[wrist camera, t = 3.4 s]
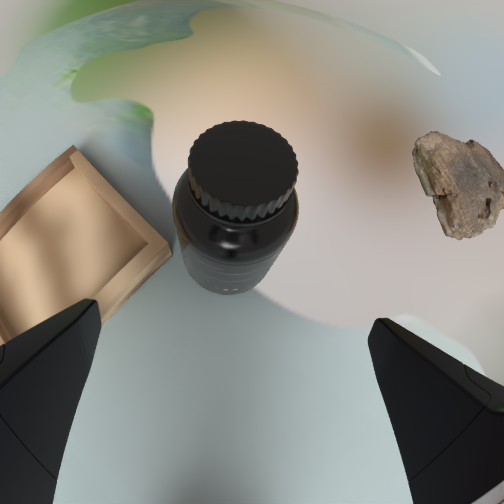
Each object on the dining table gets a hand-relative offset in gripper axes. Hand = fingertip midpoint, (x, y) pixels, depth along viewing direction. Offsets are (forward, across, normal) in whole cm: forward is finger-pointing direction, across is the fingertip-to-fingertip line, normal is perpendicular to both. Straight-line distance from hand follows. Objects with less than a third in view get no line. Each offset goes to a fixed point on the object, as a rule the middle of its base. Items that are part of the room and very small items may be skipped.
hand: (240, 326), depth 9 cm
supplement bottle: (+14, 0, +4) cm, 15 cm away
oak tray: (+12, +15, +6) cm, 20 cm away
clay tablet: (+23, -31, -4) cm, 39 cm away
